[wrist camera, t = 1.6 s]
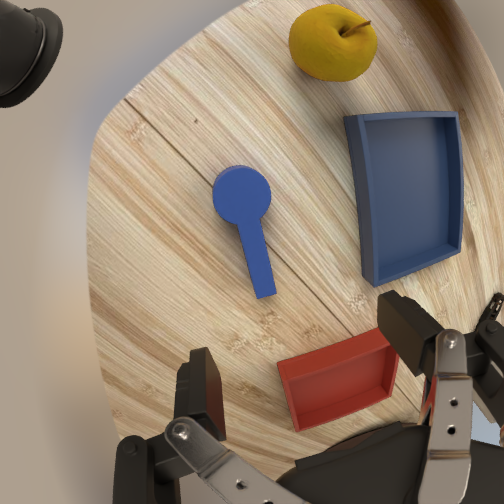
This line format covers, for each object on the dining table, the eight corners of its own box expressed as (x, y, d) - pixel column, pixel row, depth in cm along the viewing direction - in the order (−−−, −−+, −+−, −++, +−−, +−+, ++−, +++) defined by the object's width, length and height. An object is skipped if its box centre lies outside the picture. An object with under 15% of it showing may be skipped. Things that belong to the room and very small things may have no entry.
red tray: (291, 416, 36) (296, 432, 33) (276, 362, 31) (282, 381, 28) (382, 383, 37) (391, 396, 34) (390, 321, 31) (403, 336, 29)
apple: (352, 43, 19) (402, 18, 11) (337, 100, 21) (389, 88, 13) (287, 16, 17) (319, -26, 10) (268, 74, 19) (296, 44, 12)
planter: (473, 371, 45) (515, 421, 27) (493, 356, 45) (534, 401, 27) (457, 405, 51) (489, 450, 34) (475, 391, 52) (507, 433, 34)
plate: (343, 425, 40) (350, 441, 37) (436, 404, 46) (444, 414, 43) (291, 482, 50) (294, 493, 46) (378, 463, 56) (382, 472, 53)
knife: (436, 394, 44) (440, 398, 43) (421, 396, 42) (424, 400, 41) (504, 295, 36) (508, 298, 35) (495, 289, 34) (500, 292, 33)
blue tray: (361, 276, 28) (373, 288, 26) (342, 116, 21) (356, 114, 19) (447, 244, 28) (460, 252, 26) (441, 111, 22) (457, 111, 20)
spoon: (284, 277, 27) (291, 289, 24) (239, 289, 26) (242, 303, 24) (258, 159, 22) (264, 161, 20) (206, 173, 22) (205, 176, 20)
